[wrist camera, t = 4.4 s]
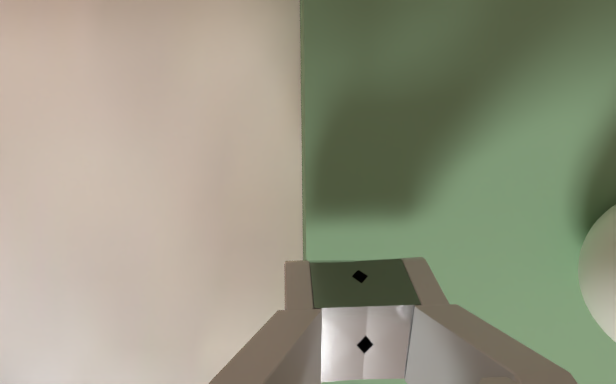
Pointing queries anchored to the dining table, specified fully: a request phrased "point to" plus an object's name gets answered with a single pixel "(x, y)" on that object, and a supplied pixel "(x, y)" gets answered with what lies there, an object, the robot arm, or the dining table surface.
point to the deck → (466, 154)
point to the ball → (600, 271)
